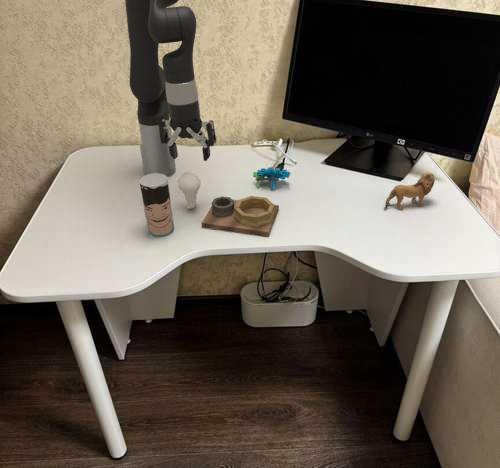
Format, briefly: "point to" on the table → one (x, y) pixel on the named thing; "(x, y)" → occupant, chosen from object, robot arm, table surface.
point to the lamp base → (242, 215)
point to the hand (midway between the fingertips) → (190, 158)
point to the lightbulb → (189, 187)
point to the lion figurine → (412, 190)
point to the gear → (270, 175)
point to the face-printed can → (157, 204)
